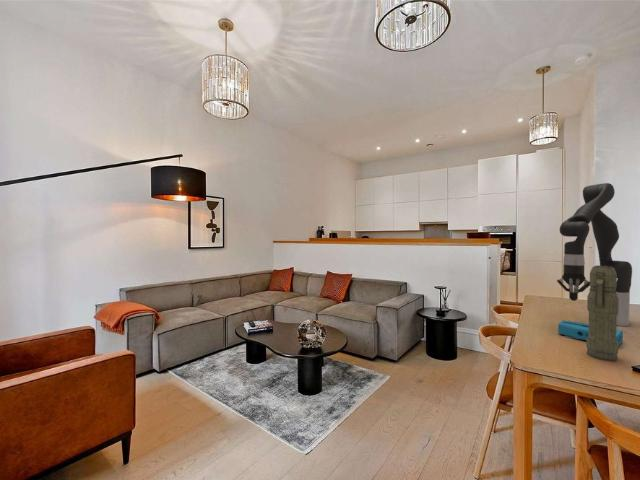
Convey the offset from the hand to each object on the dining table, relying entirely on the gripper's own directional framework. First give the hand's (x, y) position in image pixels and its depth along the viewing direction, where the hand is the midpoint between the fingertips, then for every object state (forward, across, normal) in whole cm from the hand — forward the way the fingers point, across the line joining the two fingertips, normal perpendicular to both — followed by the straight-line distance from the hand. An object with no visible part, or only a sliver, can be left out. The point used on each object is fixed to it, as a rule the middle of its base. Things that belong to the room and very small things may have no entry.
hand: (573, 300), depth 140 cm
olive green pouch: (+16, -5, +27) cm, 32 cm away
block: (+13, +5, +1) cm, 14 cm away
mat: (+16, -4, 0) cm, 17 cm away
